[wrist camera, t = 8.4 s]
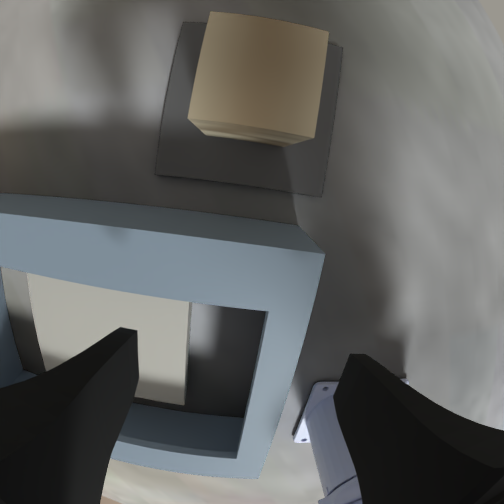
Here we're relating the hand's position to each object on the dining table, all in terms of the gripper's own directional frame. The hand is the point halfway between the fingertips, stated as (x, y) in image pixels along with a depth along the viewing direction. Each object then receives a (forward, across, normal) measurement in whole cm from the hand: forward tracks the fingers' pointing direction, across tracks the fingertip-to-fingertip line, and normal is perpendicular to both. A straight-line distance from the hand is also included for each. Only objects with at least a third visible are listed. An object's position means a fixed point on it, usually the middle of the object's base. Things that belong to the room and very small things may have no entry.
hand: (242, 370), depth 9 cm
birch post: (+10, +1, -10) cm, 14 cm away
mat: (+10, +1, -10) cm, 14 cm away
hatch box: (+10, +9, +6) cm, 15 cm away
